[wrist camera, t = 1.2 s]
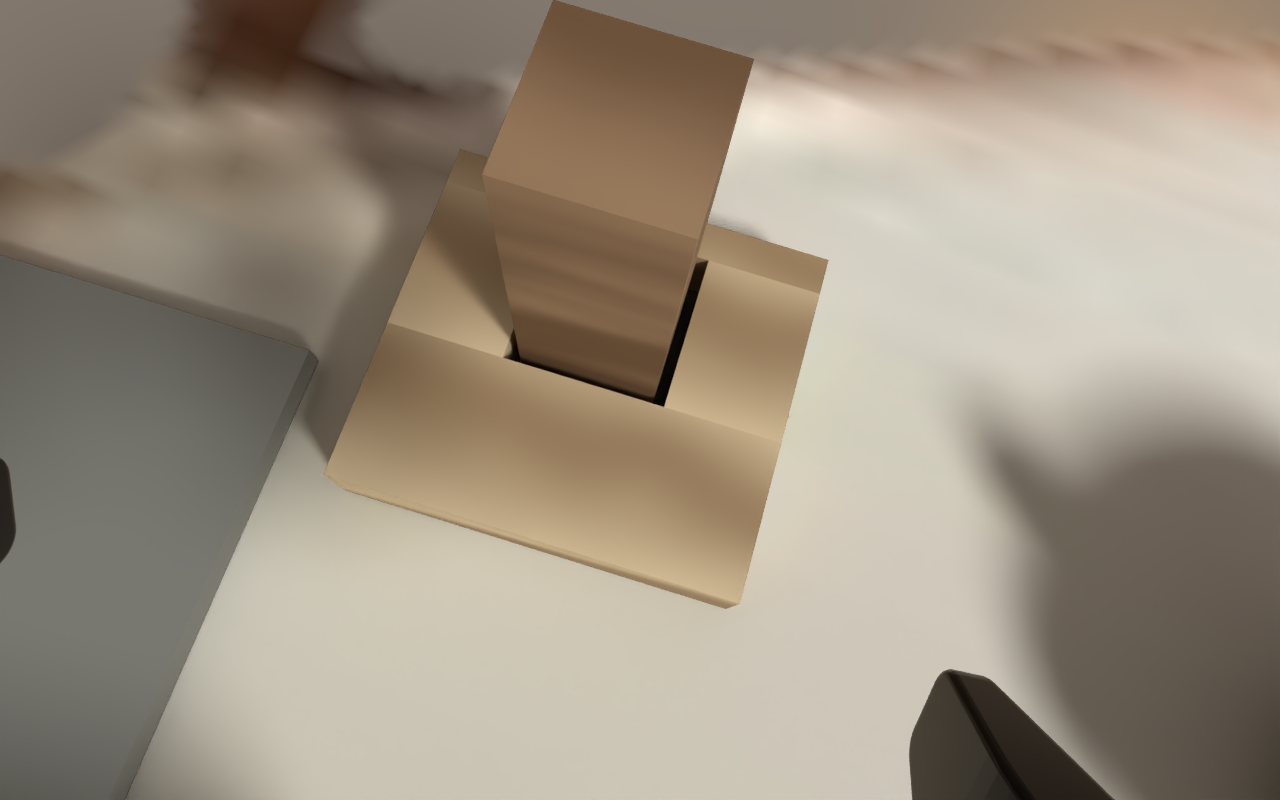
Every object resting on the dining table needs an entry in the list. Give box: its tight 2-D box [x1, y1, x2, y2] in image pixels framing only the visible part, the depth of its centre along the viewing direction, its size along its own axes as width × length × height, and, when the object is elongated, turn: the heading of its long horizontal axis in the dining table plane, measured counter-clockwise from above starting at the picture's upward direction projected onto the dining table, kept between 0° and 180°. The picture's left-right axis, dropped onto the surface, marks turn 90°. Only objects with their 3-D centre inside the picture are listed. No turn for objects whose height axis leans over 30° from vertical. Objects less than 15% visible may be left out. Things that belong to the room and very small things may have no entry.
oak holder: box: [324, 149, 828, 609], centre depth 22 cm, size 9×10×2 cm
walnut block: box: [482, 0, 754, 404], centre depth 19 cm, size 4×4×10 cm
